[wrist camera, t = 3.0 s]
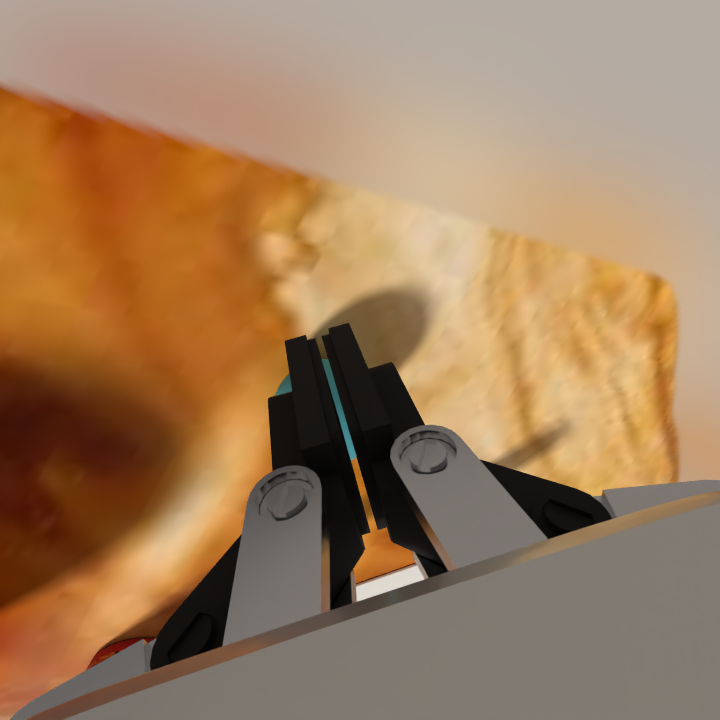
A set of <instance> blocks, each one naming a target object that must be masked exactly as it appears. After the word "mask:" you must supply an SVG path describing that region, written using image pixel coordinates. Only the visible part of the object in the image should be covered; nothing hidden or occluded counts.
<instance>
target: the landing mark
mask: <svg viewBox="0 0 720 720" xmlns="http://www.w3.org/2000/svg"><path fill="white" fill-rule="evenodd" d="M421 580H424V577H423V575H422V574H421V572H420V570H419V568H418V566H417V564H413V565H410V566H407V567H405V568H402V569H399V570H396V571H393V572H390V573H387V574H385V575H382V576H379V577H376V578H373V579H370V580H367V581H365V582H362V583H359V584H356V595H357V602H358V601H361V600H364V599H367V598H370V597H373V596H376V595H379V594H382V593H385V592H388V591H391V590H394V589H397V588H400V587H403V586H406V585H409V584H412V583H415V582H418V581H421Z"/></svg>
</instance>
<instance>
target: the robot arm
mask: <svg viewBox="0 0 720 720" xmlns="http://www.w3.org/2000/svg"><path fill="white" fill-rule="evenodd" d="M328 330H329V334H328V335H324V336H322V339H323V342H324V346H325V349H326V353H327V356H328V360H329V363H330V367H331V370H332V374H333V377H334V381H335V384H336V388H337V391H338V395H339V398H340V402H341V405H342V409H343V412H344V415H345V419H346V422H347V426H348V429H349V433H350V436H351V440H352V443H353V446H354V450H355V453H356V457H357V460H358V464H359V467H360V470H361V474H362V477H363V481H364V484H365V487H366V491H367V494H368V498H369V501H370V505H371V508H372V511H373V515H374V518H375V522H376V525H377V529H378V530H379V529H383V528H386V527H387V529H388V533H389V536H390V539H391V541H393V543H396V544H398V545H400V546H402V547H404V548H407V549H409V550H411V552H412V555H413V558H414V561H415V562H416V564H417V566H418V568H419V570H420V572H421V574H422V575H423V577H424V580H421V581H418V582H415V583H412V584H409V585H406V586H403V587H400V588H397V589H394V590H391V591H388V592H385V593H382V594H379V595H376V596H373V597H370V598H367V599H364V600H361V601H358V602H357V595H356V579H355V575H354V570H353V568H354V567H355V565H356V564H357V562H358V560H359V559H360V557H361V555H362V554H363V552H364V550H365V547H364V543H363V539H362V535H364V534H367V533H370V529H369V525H368V521H367V518H366V514H365V511H364V507H363V503H362V500H361V496H360V492H359V489H358V485H357V481H356V478H355V474H354V470H353V467H352V463H351V459H350V456H349V452H348V449H347V445H346V441H345V438H344V434H343V430H342V427H341V423H340V420H339V416H338V413H337V410H336V406H335V403H334V399H333V396H332V393H331V389H330V386H329V383H328V379H327V376H326V373H325V369H324V366H323V362H322V359H321V356H320V352H319V349H318V346H317V342H316V339H315V338H314V339H310V340H307V337H306V335H304V336H300V337H297V338H293V339H290V340H286V341H285V346H286V353H287V360H288V366H289V373H290V380H291V387H292V391H290V392H287V393H284V394H280V395H277V396H273V397H270V398H269V399H268V409H269V424H270V438H271V453H272V468H273V471H272V472H271V473H269V474H267V475H266V476H264V477H263V478H262V479H261V480H260V481H259V482H258V483H257V484H256V485H255V487H254V488H253V490H252V491H251V493H250V496H249V499H248V501H247V507H246V513H245V518H244V524H243V530H242V534H241V535H240V537H239V538H238V539H237V540H236V541H235V542H234V544H233V545H232V546H231V547H230V548H229V549H228V551H227V552H226V553H225V554H224V555H223V557H222V558H221V559H220V560H219V561H218V562H217V564H216V565H215V566H214V567H213V568H212V569H211V571H210V572H209V573H208V574H207V575H206V576H205V578H204V579H203V580H202V581H201V582H200V583H199V585H198V586H197V587H196V588H195V589H194V590H193V592H192V593H191V594H190V595H189V596H188V597H187V599H186V600H185V601H184V602H183V603H182V605H181V606H180V607H179V608H178V609H177V610H176V612H175V613H174V614H173V615H172V616H171V617H170V619H169V620H168V621H167V623H166V624H165V625H164V627H163V628H162V630H161V631H160V633H159V634H158V637H157V638H156V639H154V640H152V641H151V642H149V643H147V642H146V641H145V640H144V639H142V640H140V641H138V642H136V643H135V644H133V645H131V646H129V647H128V648H126V649H124V650H122V651H120V652H119V653H117V654H115V655H113V656H111V657H110V658H108V659H106V660H104V661H102V662H101V663H99V664H97V665H95V666H93V667H92V668H90V669H88V670H86V671H85V672H83V673H81V674H79V675H77V676H76V677H74V678H72V679H70V680H68V681H67V682H65V683H63V684H61V685H59V686H58V687H56V688H54V689H52V690H51V691H49V692H47V693H45V694H43V695H42V696H40V697H38V698H36V699H34V700H33V701H31V702H30V703H29V704H27V705H26V706H25V707H23V708H22V709H20V710H19V711H18V712H17V713H16V714H15V715H14V716H13V717H12V718H11V719H10V720H720V480H719V481H718V480H699V481H689V482H679V483H668V484H658V485H648V486H638V487H628V488H618V489H608V490H603V492H602V496H594V497H592V496H591V495H589V494H587V493H585V492H583V491H580V490H578V489H575V488H572V487H569V486H565V485H562V484H559V483H556V482H552V481H549V480H546V479H542V478H539V477H536V476H533V475H529V474H526V473H523V472H519V471H516V470H513V469H509V468H506V467H503V466H500V465H496V464H493V463H490V462H486V461H483V460H480V459H478V457H477V456H476V455H475V454H474V453H473V452H472V450H471V449H470V448H469V447H468V446H467V445H466V443H465V442H464V441H463V440H462V439H461V438H460V437H459V436H458V435H457V434H456V433H455V432H453V431H452V430H450V429H447V428H445V427H442V426H436V425H425V424H424V422H423V420H422V418H421V416H420V414H419V412H418V411H417V409H416V407H415V405H414V403H413V401H412V399H411V397H410V395H409V393H408V391H407V389H406V387H405V385H404V383H403V382H402V380H401V378H400V376H399V374H398V372H397V370H396V368H395V366H394V364H393V363H392V362H390V363H387V364H383V365H380V366H377V367H373V368H370V369H368V367H367V365H366V363H365V360H364V358H363V356H362V353H361V351H360V348H359V346H358V344H357V341H356V339H355V336H354V334H353V332H352V329H351V327H350V325H349V323H346V324H343V325H339V326H336V327H332V328H329V329H328Z"/></svg>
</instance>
